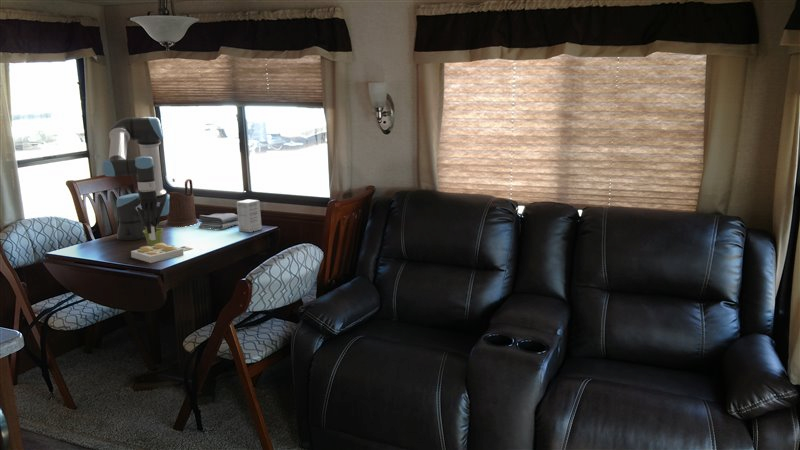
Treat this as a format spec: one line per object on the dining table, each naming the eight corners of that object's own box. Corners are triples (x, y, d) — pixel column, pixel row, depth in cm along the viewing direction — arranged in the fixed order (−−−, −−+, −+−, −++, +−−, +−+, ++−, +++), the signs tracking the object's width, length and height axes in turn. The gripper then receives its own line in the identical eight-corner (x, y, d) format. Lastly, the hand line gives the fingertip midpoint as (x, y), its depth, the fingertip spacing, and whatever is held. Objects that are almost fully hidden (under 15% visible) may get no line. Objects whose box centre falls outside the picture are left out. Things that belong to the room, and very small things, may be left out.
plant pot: (152, 249, 301) (150, 233, 299) (140, 247, 306) (138, 230, 304) (168, 245, 308) (166, 229, 307) (156, 243, 313) (154, 227, 311)
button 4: (161, 252, 289) (160, 246, 289) (170, 250, 293) (169, 244, 292) (166, 254, 286) (166, 248, 286) (176, 252, 290) (175, 246, 289)
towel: (223, 230, 341) (222, 217, 339) (197, 228, 348) (196, 215, 346) (239, 225, 355) (238, 212, 353) (214, 223, 361) (213, 210, 360)
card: (172, 249, 300) (172, 248, 300) (184, 246, 305) (184, 245, 305) (180, 252, 296) (180, 250, 296) (192, 249, 301) (192, 247, 301)
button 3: (152, 250, 294) (152, 244, 293) (162, 248, 298) (161, 242, 297) (158, 252, 291) (157, 246, 290) (167, 249, 295) (167, 243, 294)
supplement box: (262, 229, 342) (260, 200, 338) (250, 232, 334) (248, 203, 330) (250, 227, 347) (248, 198, 343) (238, 230, 339) (236, 201, 335)
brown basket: (159, 227, 352) (154, 184, 346) (180, 218, 375) (176, 178, 369) (188, 227, 349) (184, 185, 343) (208, 219, 372) (204, 178, 366)
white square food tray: (131, 257, 288) (130, 251, 287) (164, 249, 301) (163, 243, 300) (150, 263, 278) (150, 256, 277) (183, 254, 291) (182, 248, 290)
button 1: (138, 253, 288) (137, 247, 287) (147, 251, 292) (147, 245, 291) (143, 255, 285) (143, 249, 284) (153, 253, 289) (152, 247, 288)
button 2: (146, 258, 284) (146, 252, 283) (156, 256, 288) (156, 250, 287) (152, 260, 281) (151, 254, 280) (162, 258, 285) (161, 252, 284)
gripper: (138, 193, 270) (143, 243, 275) (164, 189, 280) (169, 237, 285) (129, 191, 274) (135, 241, 280) (155, 187, 284) (160, 235, 290)
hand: (152, 239), depth 283 cm, fingers closed
